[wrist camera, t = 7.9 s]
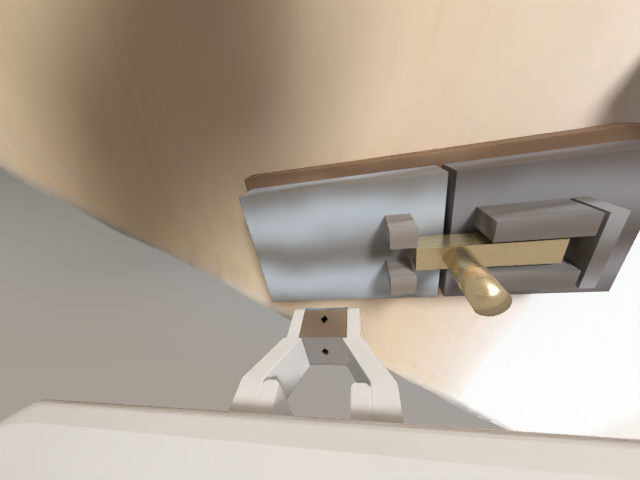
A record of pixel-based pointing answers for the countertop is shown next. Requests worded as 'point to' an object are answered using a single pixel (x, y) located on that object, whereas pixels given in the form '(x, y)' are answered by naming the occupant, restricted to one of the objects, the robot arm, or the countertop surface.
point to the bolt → (483, 263)
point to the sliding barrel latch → (449, 215)
